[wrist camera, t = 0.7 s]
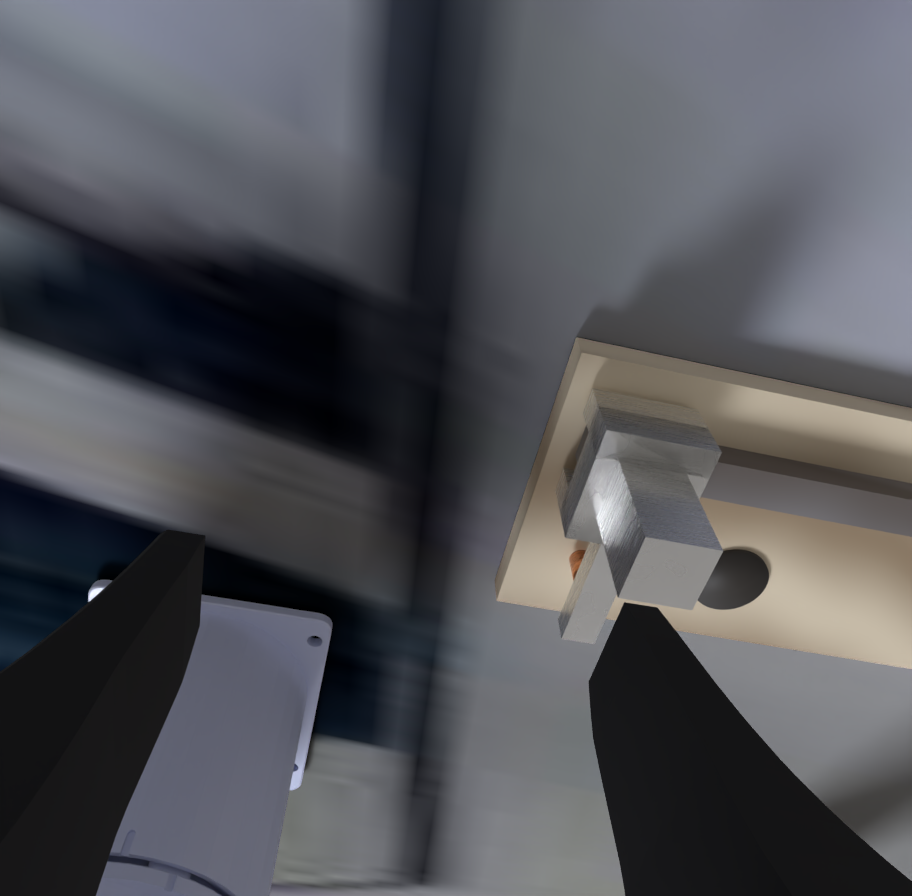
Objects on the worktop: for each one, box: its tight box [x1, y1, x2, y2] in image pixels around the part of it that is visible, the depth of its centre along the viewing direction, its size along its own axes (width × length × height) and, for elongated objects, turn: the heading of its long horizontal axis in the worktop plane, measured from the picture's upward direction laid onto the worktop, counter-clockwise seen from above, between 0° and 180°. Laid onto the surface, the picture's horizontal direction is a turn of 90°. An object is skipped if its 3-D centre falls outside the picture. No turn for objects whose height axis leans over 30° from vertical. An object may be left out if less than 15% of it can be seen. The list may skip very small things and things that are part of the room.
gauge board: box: [495, 337, 912, 669], centre depth 24 cm, size 9×20×2 cm, turn 77°
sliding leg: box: [555, 388, 723, 644], centre depth 20 cm, size 7×3×5 cm, turn 167°
